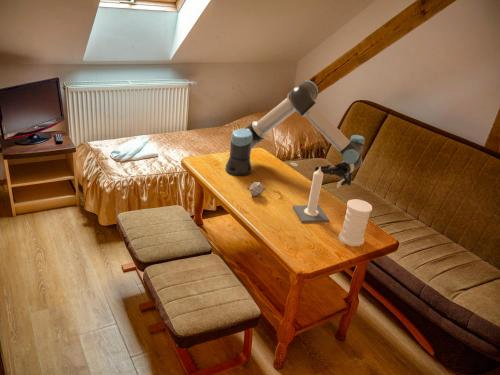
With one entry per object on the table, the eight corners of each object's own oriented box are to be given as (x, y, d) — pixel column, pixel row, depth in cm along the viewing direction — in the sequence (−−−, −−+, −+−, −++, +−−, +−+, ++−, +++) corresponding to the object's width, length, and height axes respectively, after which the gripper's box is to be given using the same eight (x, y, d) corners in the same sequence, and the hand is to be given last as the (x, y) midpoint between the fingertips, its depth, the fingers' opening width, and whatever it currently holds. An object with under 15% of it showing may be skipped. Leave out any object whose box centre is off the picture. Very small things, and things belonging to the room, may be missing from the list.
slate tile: (292, 207, 220) (292, 205, 220) (318, 207, 224) (318, 205, 223) (301, 222, 208) (301, 220, 208) (328, 221, 212) (329, 219, 211)
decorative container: (334, 239, 198) (342, 205, 190) (344, 229, 207) (352, 196, 199) (358, 249, 193) (367, 215, 185) (367, 238, 202) (376, 205, 193)
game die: (257, 203, 228) (263, 195, 219) (243, 195, 227) (248, 187, 219) (264, 190, 232) (270, 182, 223) (250, 182, 232) (255, 174, 223)
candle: (320, 216, 213) (330, 170, 202) (307, 216, 211) (316, 170, 200) (315, 208, 219) (324, 163, 208) (301, 209, 217) (310, 163, 206)
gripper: (364, 182, 227) (346, 196, 211) (322, 167, 239) (302, 178, 224) (367, 169, 223) (349, 182, 208) (324, 154, 236) (304, 165, 220)
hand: (325, 180), depth 216 cm, fingers open, 13 cm apart
